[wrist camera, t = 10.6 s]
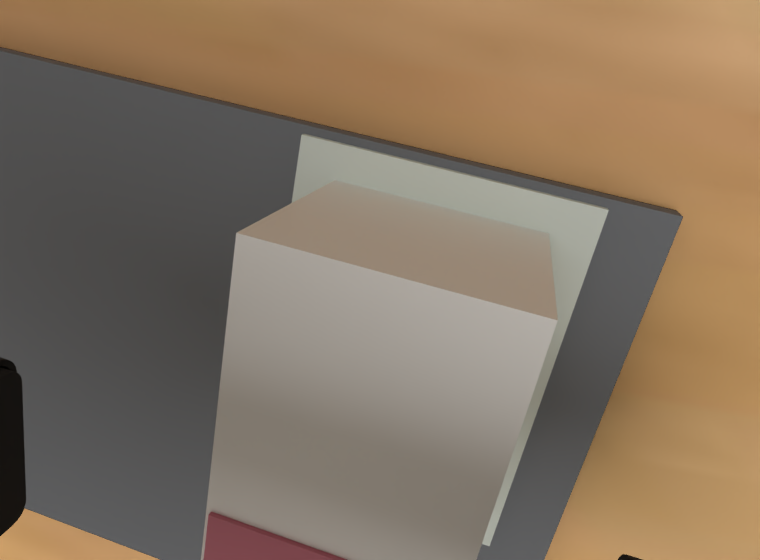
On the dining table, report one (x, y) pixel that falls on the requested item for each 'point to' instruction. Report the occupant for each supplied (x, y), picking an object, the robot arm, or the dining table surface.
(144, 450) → the mat
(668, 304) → the dining table surface
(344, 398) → the card deck case
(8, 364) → the robot arm
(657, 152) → the dining table surface
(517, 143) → the dining table surface
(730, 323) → the dining table surface
